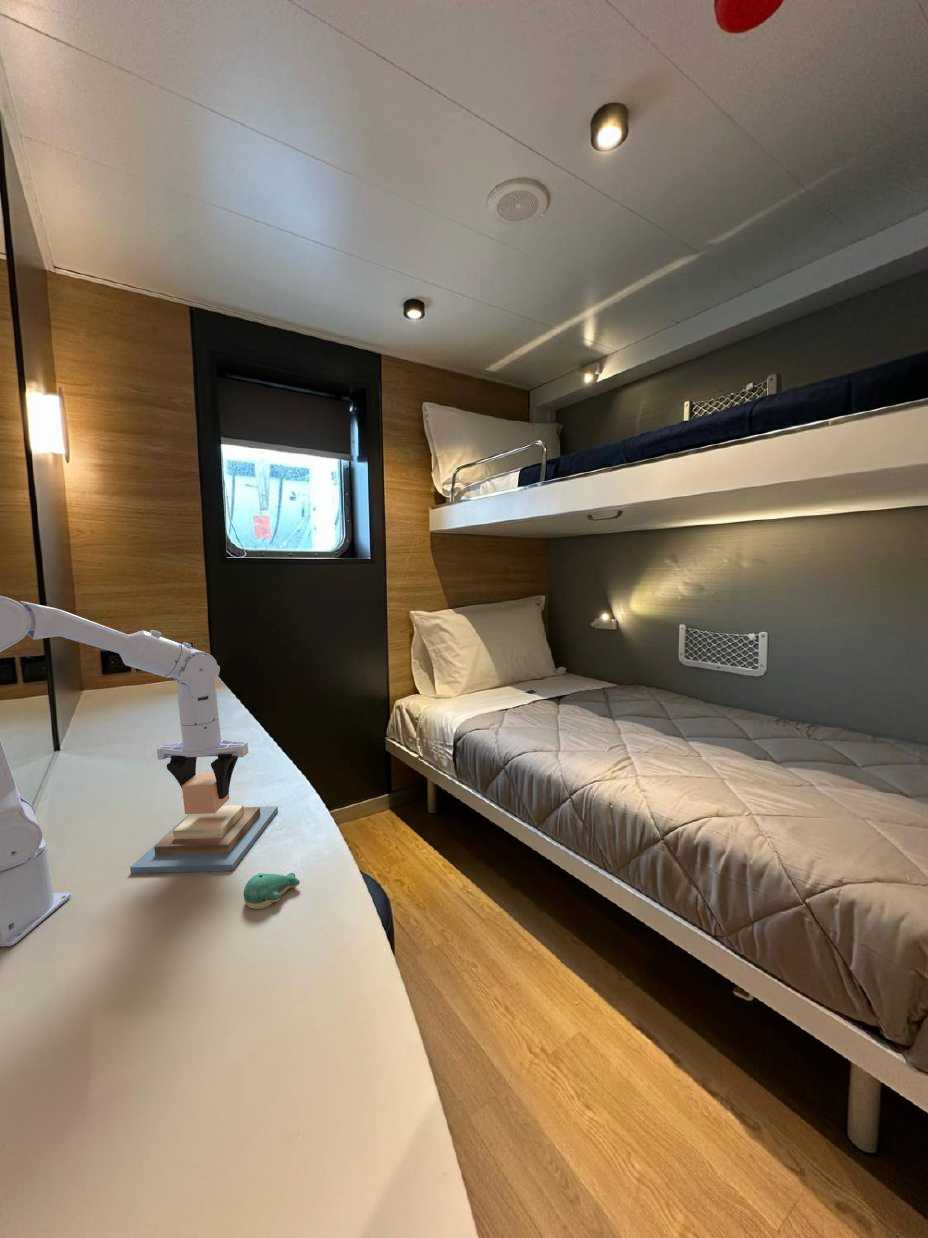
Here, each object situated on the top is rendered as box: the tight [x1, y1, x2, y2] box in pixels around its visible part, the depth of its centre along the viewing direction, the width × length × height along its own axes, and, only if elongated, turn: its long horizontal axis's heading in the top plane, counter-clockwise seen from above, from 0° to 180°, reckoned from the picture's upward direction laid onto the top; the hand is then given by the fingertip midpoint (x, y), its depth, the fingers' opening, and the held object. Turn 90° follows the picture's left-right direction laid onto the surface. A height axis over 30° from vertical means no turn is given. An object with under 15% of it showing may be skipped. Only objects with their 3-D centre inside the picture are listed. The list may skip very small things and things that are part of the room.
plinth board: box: [130, 804, 279, 874], centre depth 84 cm, size 18×16×4 cm
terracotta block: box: [181, 771, 230, 815], centre depth 83 cm, size 5×5×5 cm
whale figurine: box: [243, 872, 301, 910], centre depth 69 cm, size 6×7×4 cm
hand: (207, 796), depth 84 cm, fingers closed on terracotta block, 5 cm apart
